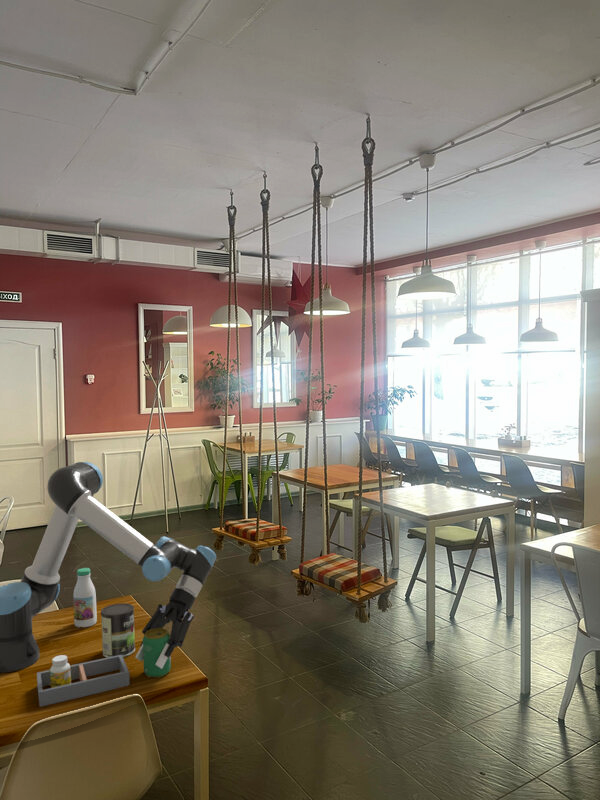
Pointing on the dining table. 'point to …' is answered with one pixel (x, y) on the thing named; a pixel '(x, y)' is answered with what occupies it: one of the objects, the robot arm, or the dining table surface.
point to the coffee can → (118, 630)
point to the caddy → (84, 680)
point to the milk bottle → (84, 600)
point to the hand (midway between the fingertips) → (148, 663)
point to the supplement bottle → (60, 671)
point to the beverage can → (155, 652)
